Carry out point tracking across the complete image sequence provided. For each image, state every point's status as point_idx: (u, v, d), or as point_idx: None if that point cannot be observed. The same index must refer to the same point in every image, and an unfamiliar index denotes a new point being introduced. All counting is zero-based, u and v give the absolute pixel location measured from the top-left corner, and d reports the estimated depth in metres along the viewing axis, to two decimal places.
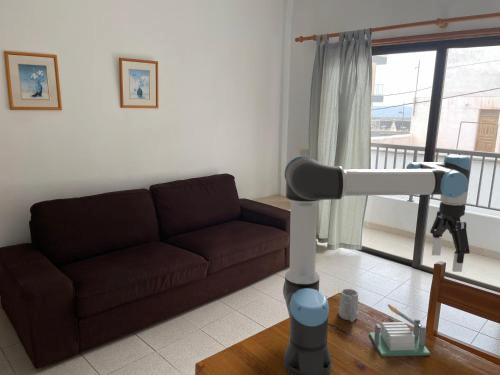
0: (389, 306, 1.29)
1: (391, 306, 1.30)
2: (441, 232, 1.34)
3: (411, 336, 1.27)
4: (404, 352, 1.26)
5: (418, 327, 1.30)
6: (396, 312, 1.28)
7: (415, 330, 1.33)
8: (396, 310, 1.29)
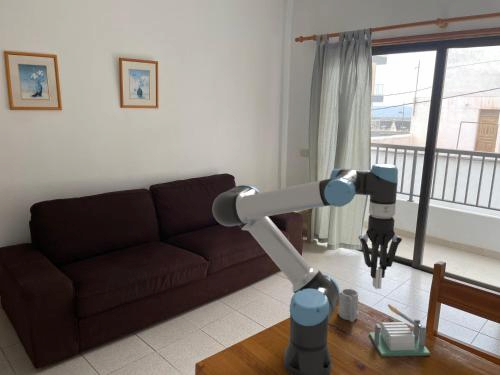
0: (389, 306, 1.29)
1: (391, 306, 1.30)
2: (381, 257, 1.19)
3: (411, 336, 1.27)
4: (404, 352, 1.26)
5: (418, 327, 1.30)
6: (396, 312, 1.28)
7: (415, 330, 1.33)
8: (396, 310, 1.29)
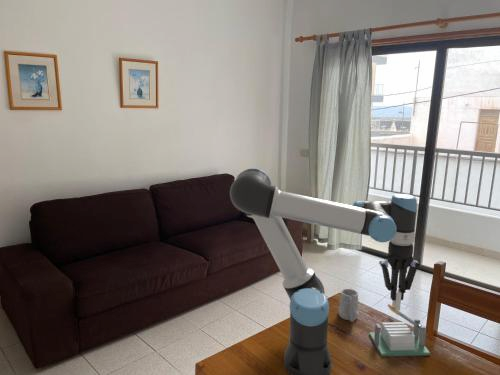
0: (389, 306, 1.29)
1: (391, 306, 1.30)
2: (400, 281, 1.27)
3: (411, 336, 1.27)
4: (404, 352, 1.26)
5: (418, 327, 1.30)
6: (396, 312, 1.28)
7: (415, 330, 1.33)
8: None
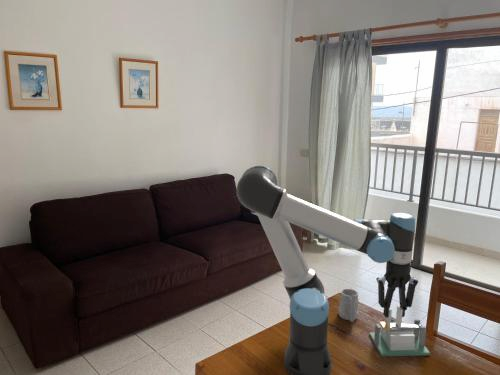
0: (381, 324, 1.31)
1: (383, 323, 1.31)
2: (401, 298, 1.28)
3: (411, 336, 1.27)
4: (404, 352, 1.26)
5: None
6: (389, 328, 1.29)
7: (415, 330, 1.33)
8: None
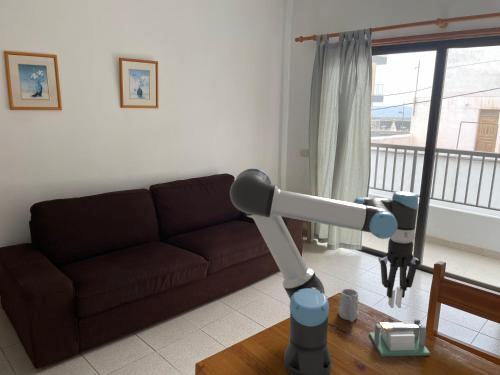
0: (381, 325, 1.31)
1: (383, 323, 1.31)
2: (401, 278, 1.26)
3: (411, 336, 1.27)
4: (404, 352, 1.26)
5: None
6: (389, 328, 1.29)
7: (415, 330, 1.33)
8: (389, 325, 1.30)
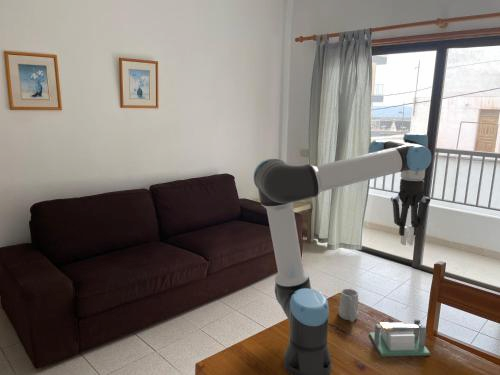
0: (381, 325, 1.31)
1: (383, 323, 1.31)
2: (413, 217, 1.34)
3: (411, 336, 1.27)
4: (404, 352, 1.26)
5: None
6: (389, 328, 1.29)
7: (415, 330, 1.33)
8: (389, 325, 1.30)
